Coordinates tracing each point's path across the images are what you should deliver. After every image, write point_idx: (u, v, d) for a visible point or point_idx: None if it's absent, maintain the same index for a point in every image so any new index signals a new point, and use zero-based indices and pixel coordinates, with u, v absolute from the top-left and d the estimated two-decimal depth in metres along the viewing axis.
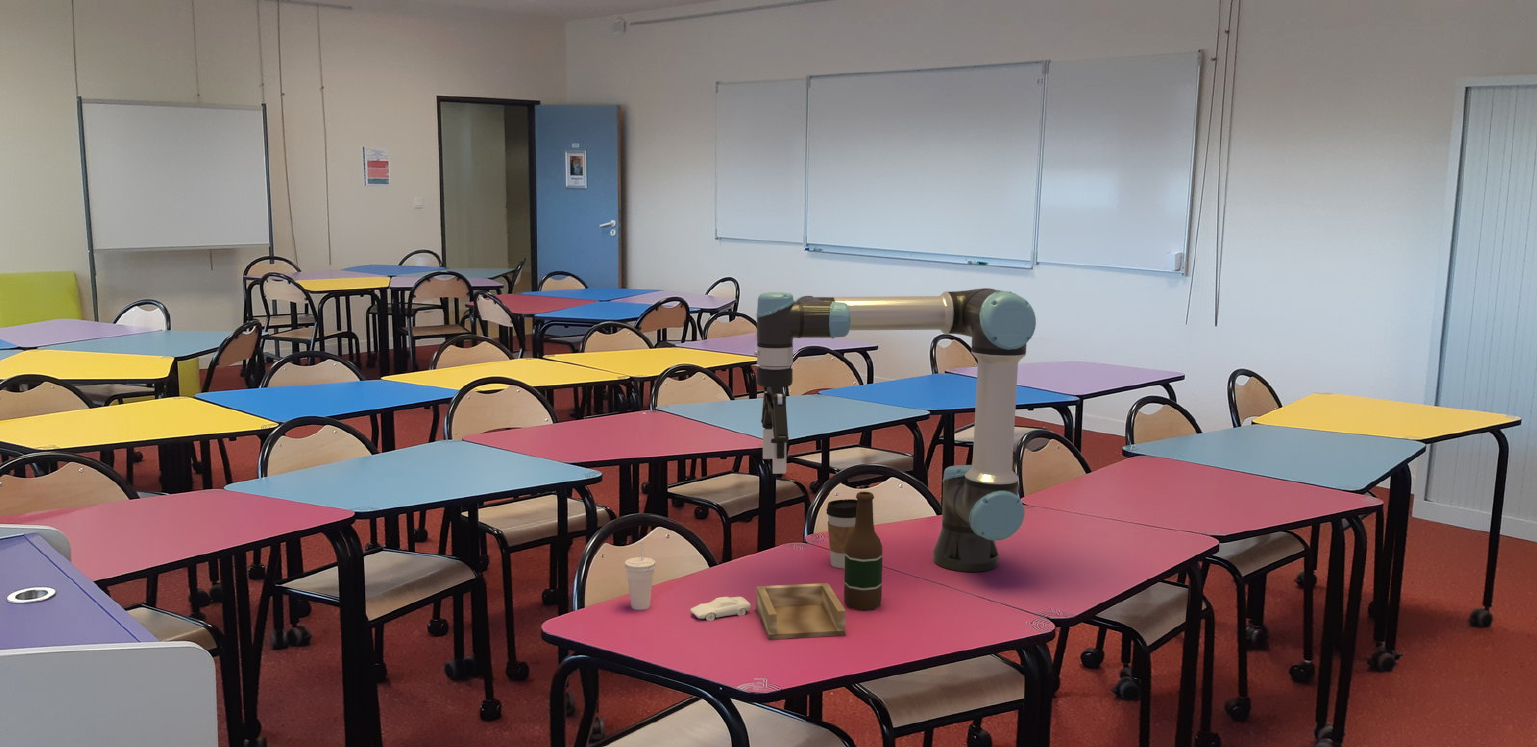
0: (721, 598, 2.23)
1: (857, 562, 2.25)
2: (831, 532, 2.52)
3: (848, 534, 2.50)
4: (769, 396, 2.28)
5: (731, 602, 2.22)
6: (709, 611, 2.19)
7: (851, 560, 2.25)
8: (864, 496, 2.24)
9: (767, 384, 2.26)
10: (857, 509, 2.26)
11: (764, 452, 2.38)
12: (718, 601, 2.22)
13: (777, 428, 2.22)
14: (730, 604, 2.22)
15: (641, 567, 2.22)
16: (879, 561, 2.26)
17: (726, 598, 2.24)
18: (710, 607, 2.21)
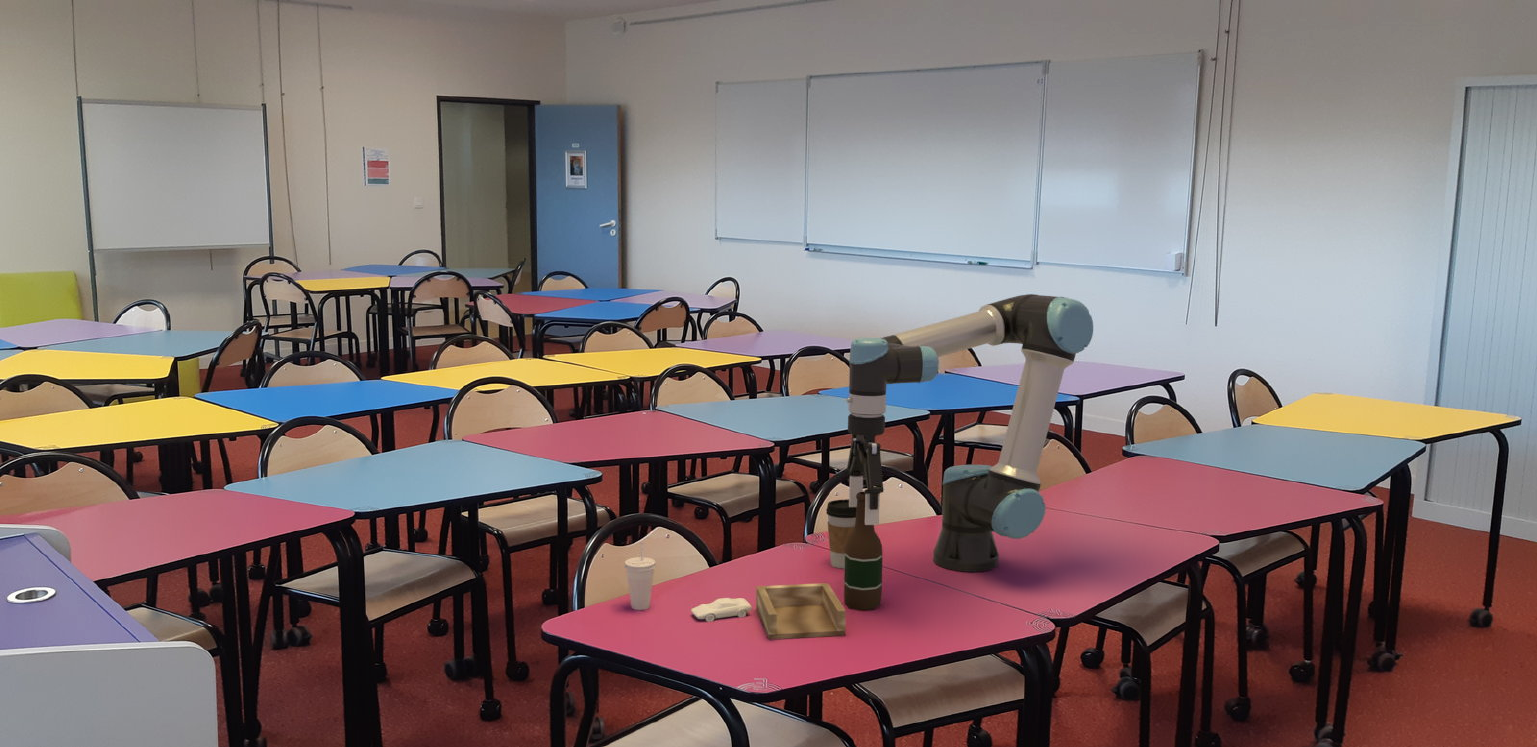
0: (722, 599, 2.23)
1: (857, 562, 2.25)
2: (831, 532, 2.52)
3: (848, 534, 2.50)
4: (861, 444, 2.22)
5: (731, 603, 2.21)
6: (709, 612, 2.19)
7: (851, 560, 2.25)
8: (864, 496, 2.24)
9: (860, 432, 2.20)
10: (857, 509, 2.26)
11: (851, 500, 2.32)
12: (718, 602, 2.22)
13: (872, 479, 2.16)
14: (730, 605, 2.21)
15: (641, 567, 2.22)
16: (879, 561, 2.26)
17: (727, 599, 2.23)
18: (710, 608, 2.21)
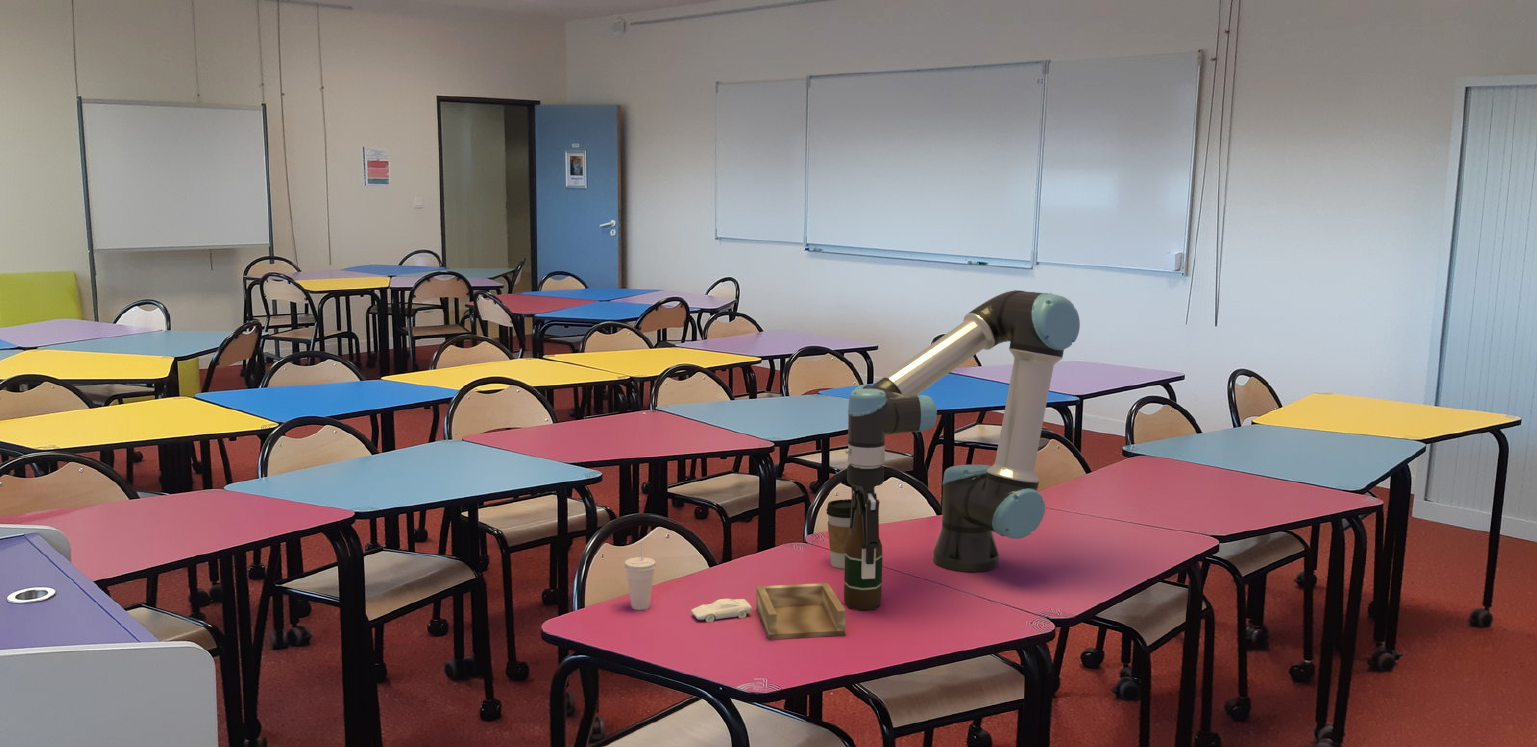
0: (722, 600, 2.22)
1: (857, 562, 2.25)
2: (831, 532, 2.52)
3: (848, 534, 2.50)
4: (860, 495, 2.24)
5: (732, 604, 2.21)
6: (708, 612, 2.19)
7: (851, 560, 2.25)
8: None
9: (859, 483, 2.22)
10: (857, 509, 2.26)
11: None
12: (718, 602, 2.21)
13: (868, 536, 2.20)
14: (730, 606, 2.21)
15: (641, 567, 2.22)
16: (879, 561, 2.26)
17: (727, 600, 2.23)
18: (710, 608, 2.20)
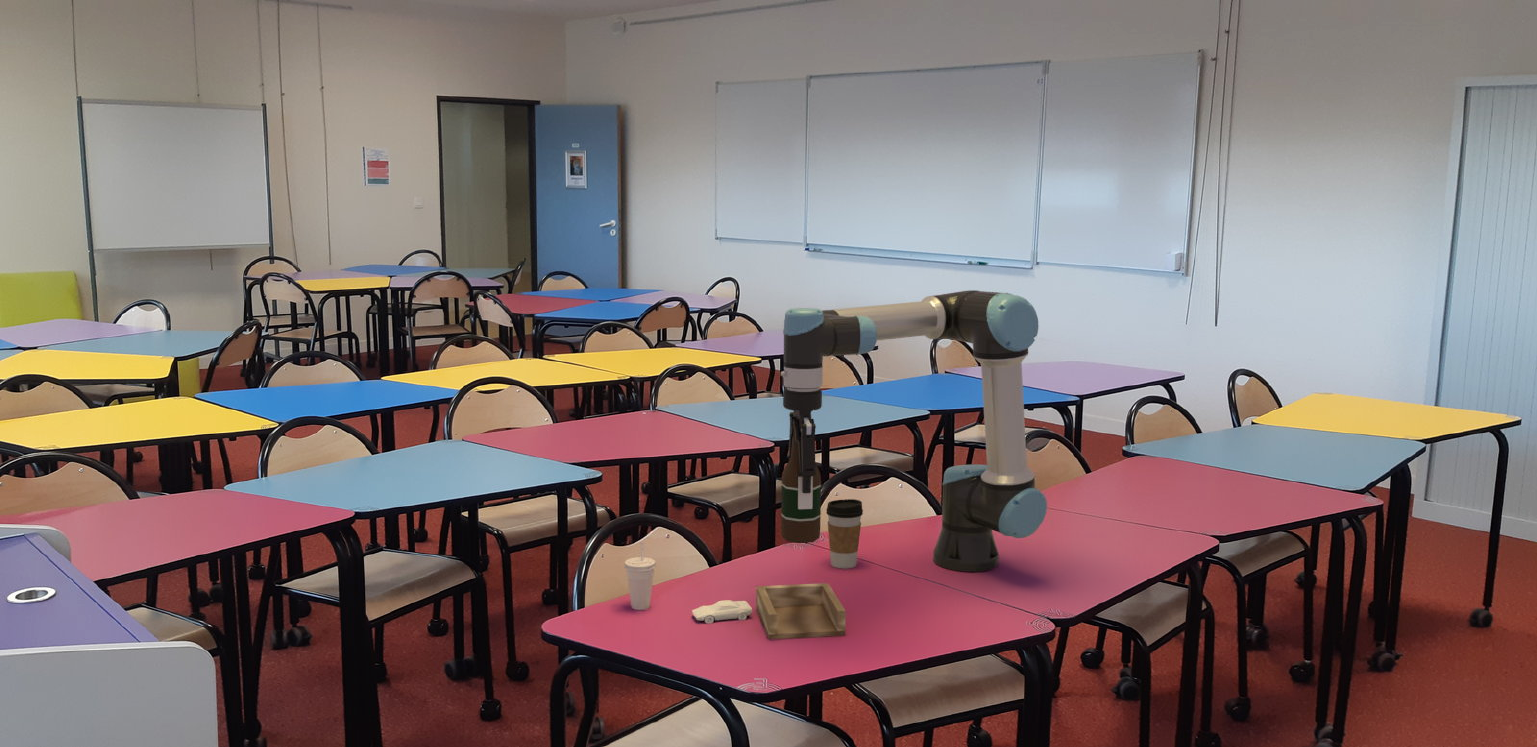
0: (723, 601, 2.22)
1: (793, 492, 2.12)
2: (831, 532, 2.52)
3: (848, 534, 2.50)
4: (797, 420, 2.11)
5: (732, 606, 2.20)
6: (708, 613, 2.18)
7: (787, 489, 2.12)
8: None
9: (795, 407, 2.09)
10: (794, 436, 2.13)
11: None
12: (719, 604, 2.21)
13: (804, 462, 2.07)
14: (731, 608, 2.20)
15: (641, 567, 2.22)
16: (817, 491, 2.13)
17: (728, 601, 2.22)
18: (710, 610, 2.20)
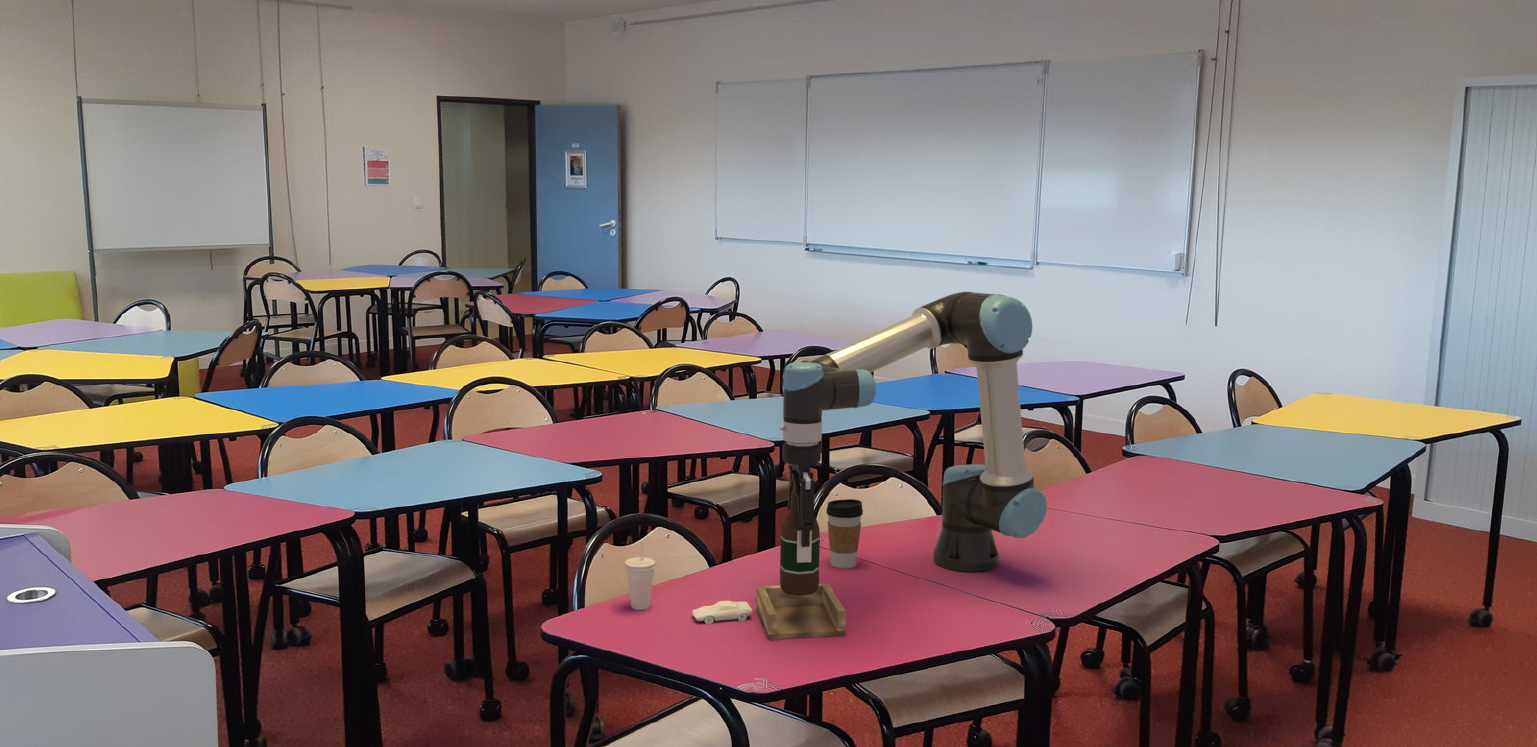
0: (723, 602, 2.21)
1: (792, 545, 2.13)
2: (831, 532, 2.52)
3: (848, 534, 2.50)
4: (796, 474, 2.13)
5: (732, 606, 2.20)
6: (708, 614, 2.18)
7: (786, 542, 2.14)
8: None
9: (794, 462, 2.11)
10: (793, 489, 2.15)
11: None
12: (719, 604, 2.20)
13: (803, 516, 2.08)
14: (730, 608, 2.19)
15: (641, 567, 2.22)
16: (815, 544, 2.15)
17: (728, 602, 2.21)
18: (710, 610, 2.19)
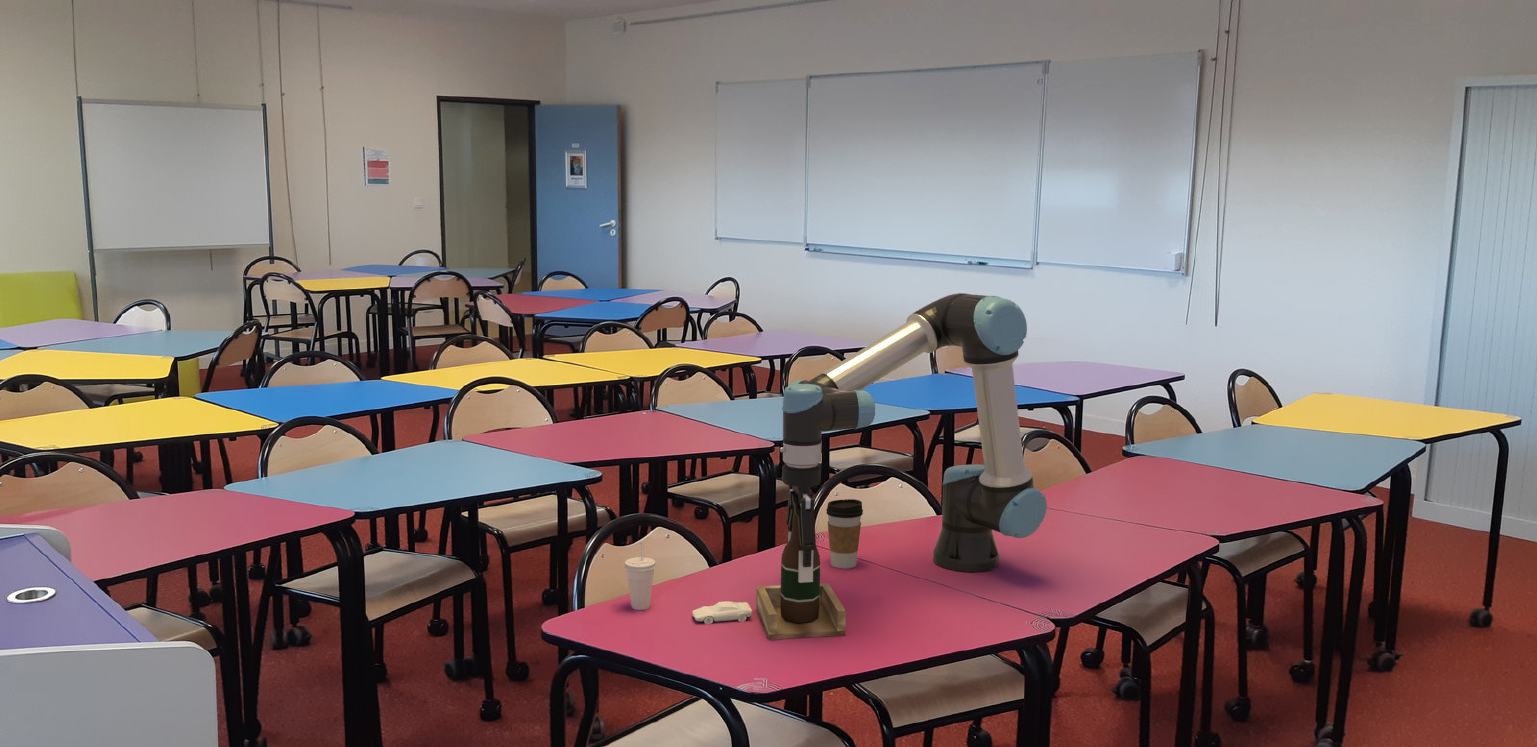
0: (723, 602, 2.21)
1: (793, 573, 2.14)
2: (831, 532, 2.52)
3: (848, 534, 2.50)
4: (796, 496, 2.13)
5: (732, 607, 2.19)
6: (707, 614, 2.18)
7: (786, 570, 2.15)
8: None
9: (794, 484, 2.11)
10: (793, 517, 2.16)
11: None
12: (719, 604, 2.20)
13: (804, 536, 2.08)
14: (730, 609, 2.19)
15: (641, 567, 2.22)
16: (816, 572, 2.16)
17: (728, 603, 2.21)
18: (710, 610, 2.19)
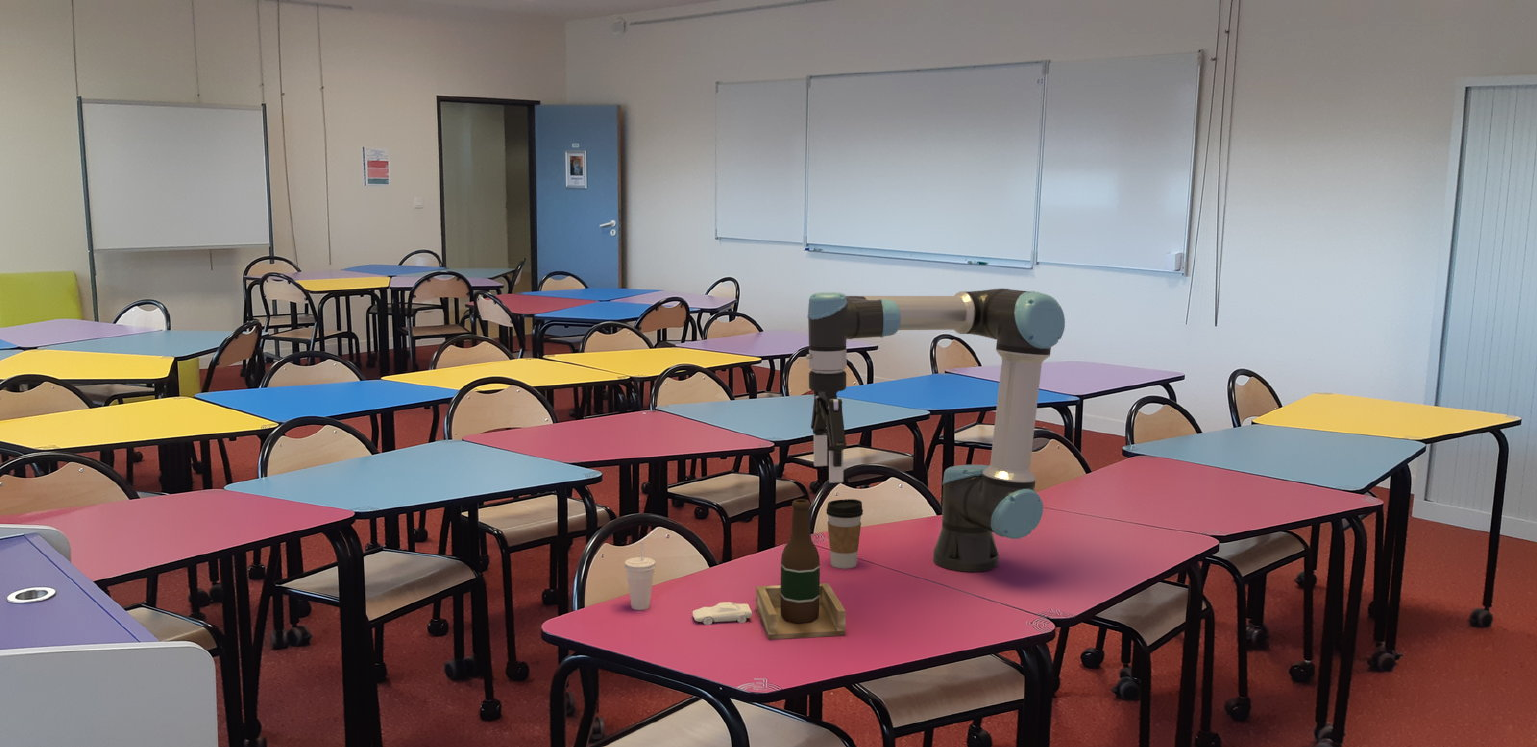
0: (723, 603, 2.21)
1: (792, 574, 2.14)
2: (831, 532, 2.52)
3: (848, 534, 2.50)
4: (823, 401, 2.18)
5: (731, 608, 2.19)
6: (706, 615, 2.17)
7: (786, 571, 2.15)
8: (800, 504, 2.14)
9: (821, 389, 2.16)
10: (793, 517, 2.15)
11: (815, 459, 2.28)
12: (719, 605, 2.20)
13: (834, 435, 2.12)
14: (730, 610, 2.19)
15: (641, 567, 2.22)
16: (816, 572, 2.15)
17: (728, 604, 2.20)
18: (710, 611, 2.19)
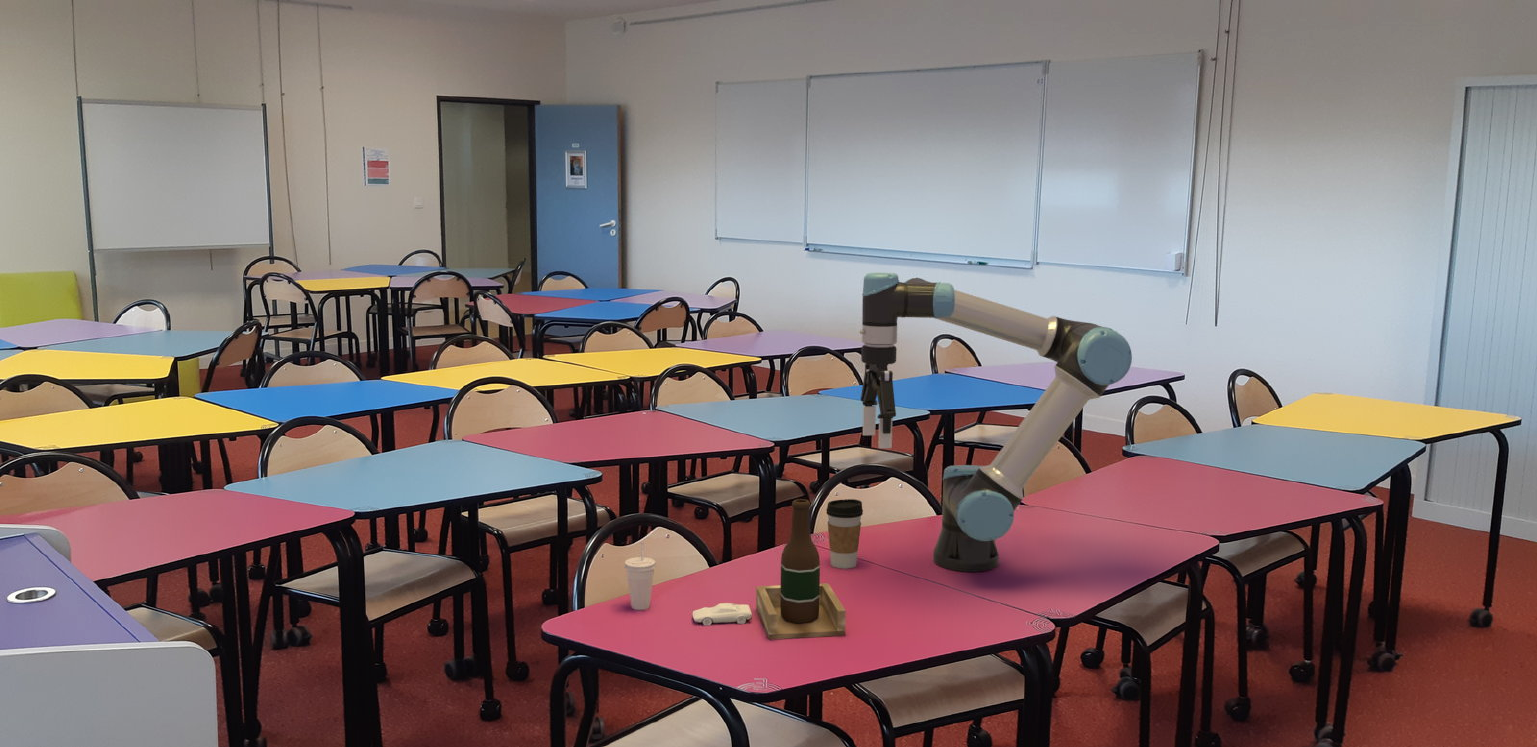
0: (723, 604, 2.20)
1: (792, 573, 2.14)
2: (831, 532, 2.52)
3: (848, 534, 2.50)
4: (874, 373, 2.35)
5: (731, 609, 2.18)
6: (706, 615, 2.17)
7: (786, 571, 2.15)
8: (800, 504, 2.14)
9: (873, 361, 2.33)
10: (793, 517, 2.15)
11: (864, 429, 2.45)
12: (718, 606, 2.19)
13: (885, 404, 2.29)
14: (730, 611, 2.18)
15: (641, 567, 2.22)
16: (816, 572, 2.15)
17: (728, 604, 2.20)
18: (709, 612, 2.19)
